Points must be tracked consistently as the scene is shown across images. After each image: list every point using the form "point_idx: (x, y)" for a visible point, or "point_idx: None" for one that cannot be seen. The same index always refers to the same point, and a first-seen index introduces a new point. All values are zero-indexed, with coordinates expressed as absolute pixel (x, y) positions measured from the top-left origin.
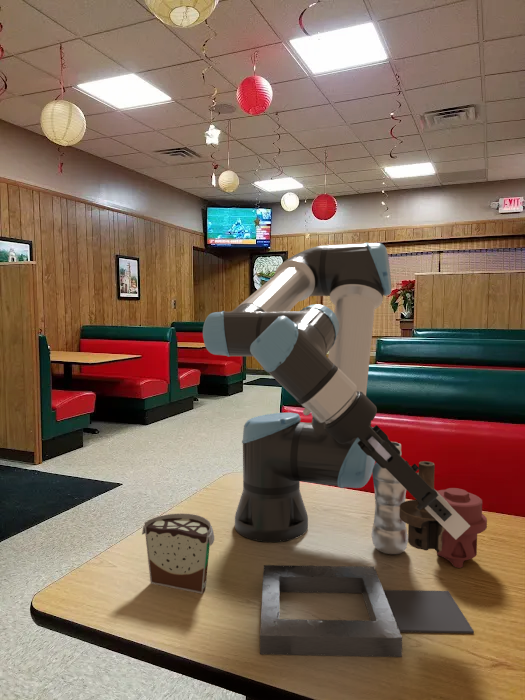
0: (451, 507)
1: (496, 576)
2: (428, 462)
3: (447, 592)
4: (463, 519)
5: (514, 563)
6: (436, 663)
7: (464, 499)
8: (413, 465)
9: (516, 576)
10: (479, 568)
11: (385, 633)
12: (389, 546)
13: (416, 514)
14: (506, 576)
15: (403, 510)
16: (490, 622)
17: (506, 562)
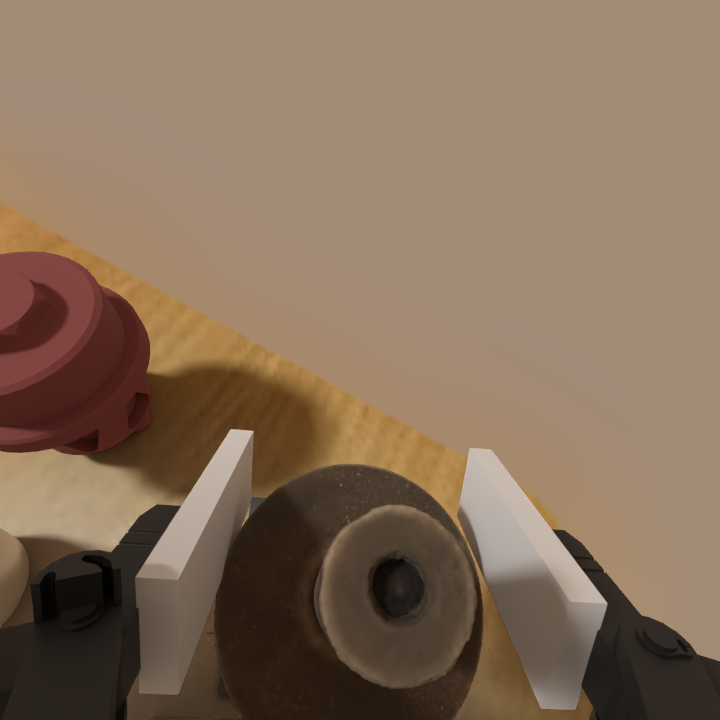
0: (539, 515)
1: (206, 361)
2: (373, 555)
3: (258, 502)
4: (503, 469)
5: (164, 302)
6: (505, 639)
7: (47, 304)
8: (42, 599)
9: (214, 325)
10: (164, 378)
11: None
12: (5, 611)
13: (433, 688)
14: (210, 343)
15: None
16: (367, 456)
17: (156, 314)
